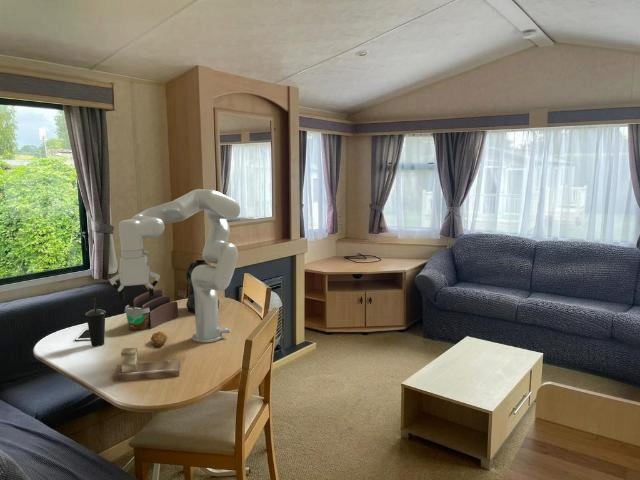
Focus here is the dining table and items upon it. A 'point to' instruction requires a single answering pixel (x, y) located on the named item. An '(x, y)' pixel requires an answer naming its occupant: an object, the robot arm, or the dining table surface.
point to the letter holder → (157, 307)
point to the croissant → (159, 339)
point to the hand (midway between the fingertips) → (137, 299)
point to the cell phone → (84, 336)
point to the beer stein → (191, 298)
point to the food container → (137, 318)
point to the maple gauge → (129, 359)
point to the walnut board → (149, 371)
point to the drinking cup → (96, 325)
